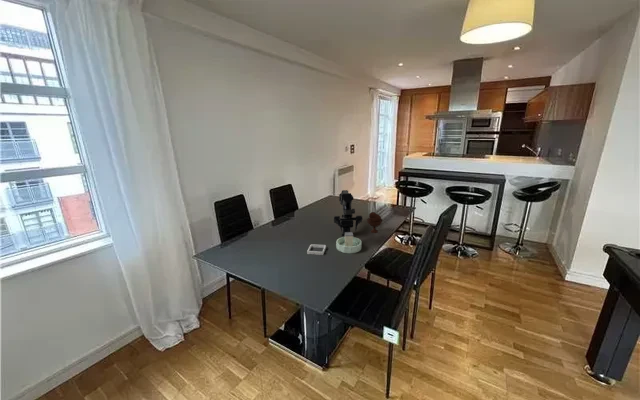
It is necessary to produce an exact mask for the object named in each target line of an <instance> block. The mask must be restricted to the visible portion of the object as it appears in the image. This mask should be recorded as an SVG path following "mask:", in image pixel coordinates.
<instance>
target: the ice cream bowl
mask: <svg viewBox="0 0 640 400" xmlns="http://www.w3.org/2000/svg"><path fill="white" fill-rule="evenodd" d="M366 222H367V224H368V225H369V226H370V227H372V229H371V230H370V233H373V234H377V233H378V232H379V231H378V230H377V229H376V228H378V227H379V226H380V225H382V222H383V219H382V217H381V215H380V214H378V213H376V212H374V211H372V212H370V213H369V215H368V218H367V219H366ZM378 234H379V233H378Z"/></svg>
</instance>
